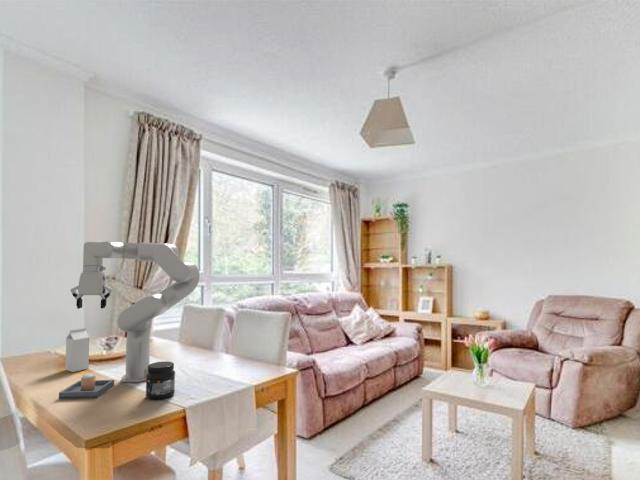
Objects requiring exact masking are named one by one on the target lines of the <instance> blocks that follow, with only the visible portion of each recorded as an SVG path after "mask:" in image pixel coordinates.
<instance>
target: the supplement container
mask: <svg viewBox="0 0 640 480" xmlns="http://www.w3.org/2000/svg"><path fill="white" fill-rule="evenodd" d="M174 369H175V364H174V362H173V361H168V360H166V361H155V362H152V363H149V365H148V369H147V371H148V373H147V374H146V381H145V397H146V398H147V399H148V400H150V401H151V400H152V401H160V400H161V401H162V400H165V399H169V398H171V397H172V396H174V395H175V392H176V389H175V385H176V378H175V377H176V371H175V370H174Z"/></svg>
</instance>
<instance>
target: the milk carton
mask: <svg viewBox="0 0 640 480" xmlns="http://www.w3.org/2000/svg"><path fill="white" fill-rule="evenodd" d="M89 359H90V335H89V334H88V332H87V328H85V327H84V328H78V329H70V330H69V333H68V335H67V336H66V338H65V368H64V369H65V371H69V372H71V373H75V372H76V373H77V372H80V371H84V370H88V369H89V367H90V366H89V365H90V363H89V362H90V360H89Z"/></svg>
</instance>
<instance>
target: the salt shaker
mask: <svg viewBox="0 0 640 480" xmlns="http://www.w3.org/2000/svg"><path fill="white" fill-rule="evenodd" d="M96 377H97V376H95V374H94V373H89V374H84V375H82V376H81V378H80V381H81V390H80V391H93V390H95V381H96V380H97V379H96Z"/></svg>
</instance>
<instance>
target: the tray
mask: <svg viewBox="0 0 640 480" xmlns="http://www.w3.org/2000/svg"><path fill="white" fill-rule="evenodd" d="M114 386H115V379H96V381H95V390H93V391H80V390H81V380H78V381H76V382H74V383H72V384H70V385H69V386H67V387H66V388H64V389H63V390H61V391H60V392H58V400H85V399H86V400H87V399H88V400H89V399H90V400H92V399H98V398H100V397H102V395H104V394H105V393H106V392H108V391H109V390H111V389H112V388H113V387H114Z"/></svg>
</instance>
